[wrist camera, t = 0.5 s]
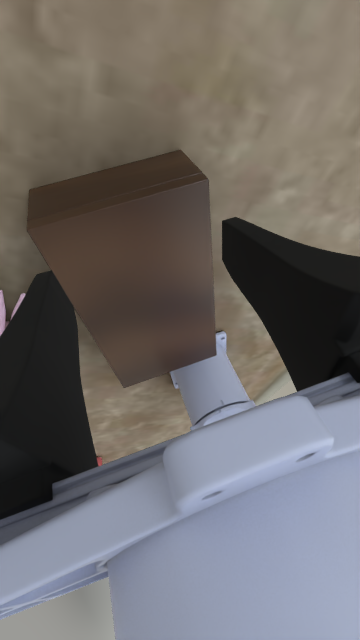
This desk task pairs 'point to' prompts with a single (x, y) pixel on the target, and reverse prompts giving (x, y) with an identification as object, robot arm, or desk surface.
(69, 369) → the robot arm
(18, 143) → the desk surface
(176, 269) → the rack
